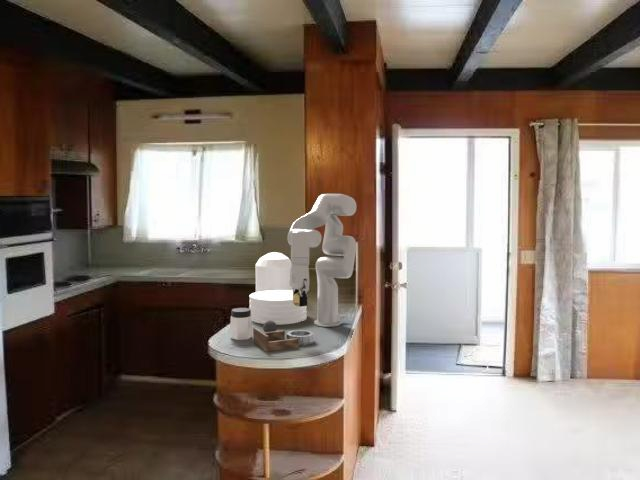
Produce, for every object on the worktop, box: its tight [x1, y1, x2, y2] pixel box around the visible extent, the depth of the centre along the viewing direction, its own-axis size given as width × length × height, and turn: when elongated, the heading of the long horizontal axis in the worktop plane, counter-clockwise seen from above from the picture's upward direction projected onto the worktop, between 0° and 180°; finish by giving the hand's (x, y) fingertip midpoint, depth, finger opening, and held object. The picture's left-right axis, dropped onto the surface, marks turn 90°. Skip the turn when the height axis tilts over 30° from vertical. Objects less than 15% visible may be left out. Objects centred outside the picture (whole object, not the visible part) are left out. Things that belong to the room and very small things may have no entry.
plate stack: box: [248, 290, 308, 325], centre depth 273 cm, size 28×28×12 cm
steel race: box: [286, 329, 315, 346], centre depth 230 cm, size 11×11×4 cm
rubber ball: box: [262, 320, 278, 333], centre depth 242 cm, size 6×6×6 cm
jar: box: [230, 307, 253, 341], centre depth 236 cm, size 9×8×12 cm
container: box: [254, 251, 293, 292], centre depth 312 cm, size 21×21×28 cm
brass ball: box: [293, 292, 302, 307], centre depth 229 cm, size 6×6×6 cm
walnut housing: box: [252, 327, 299, 352], centre depth 225 cm, size 14×15×6 cm
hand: (299, 304), depth 229 cm, fingers closed on brass ball, 6 cm apart
